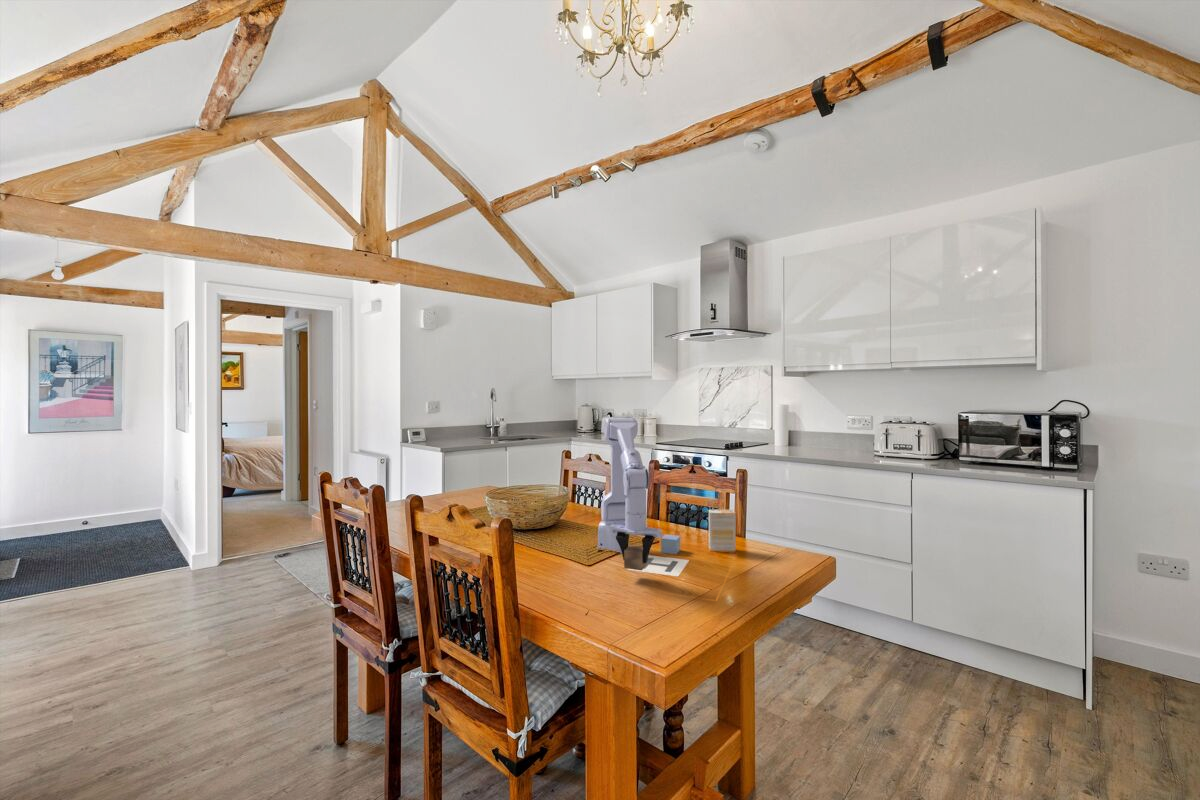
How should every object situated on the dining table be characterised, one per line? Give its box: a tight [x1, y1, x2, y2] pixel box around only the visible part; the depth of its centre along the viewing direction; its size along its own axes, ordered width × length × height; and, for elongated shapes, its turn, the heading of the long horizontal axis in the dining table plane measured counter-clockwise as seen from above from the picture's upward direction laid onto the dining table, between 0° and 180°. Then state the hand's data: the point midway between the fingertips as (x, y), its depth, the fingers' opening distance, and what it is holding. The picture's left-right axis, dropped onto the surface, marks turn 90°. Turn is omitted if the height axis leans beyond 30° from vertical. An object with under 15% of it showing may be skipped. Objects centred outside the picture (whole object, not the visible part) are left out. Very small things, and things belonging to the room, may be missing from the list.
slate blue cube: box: [660, 533, 681, 555], centre depth 176 cm, size 5×5×5 cm
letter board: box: [626, 554, 690, 577], centre depth 163 cm, size 15×15×1 cm
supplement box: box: [708, 508, 737, 554], centre depth 177 cm, size 8×5×13 cm, turn 84°
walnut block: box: [623, 544, 647, 571], centre depth 151 cm, size 5×5×5 cm
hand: (635, 560), depth 150 cm, fingers closed on walnut block, 5 cm apart
